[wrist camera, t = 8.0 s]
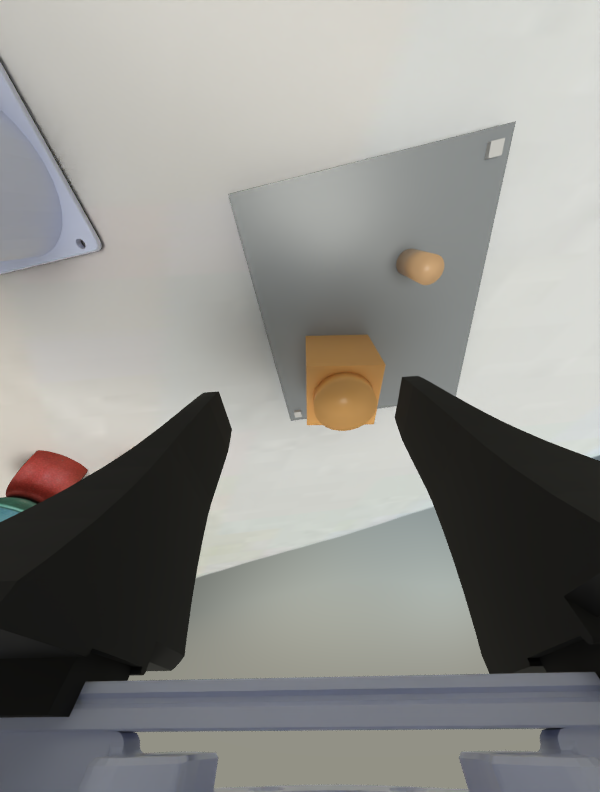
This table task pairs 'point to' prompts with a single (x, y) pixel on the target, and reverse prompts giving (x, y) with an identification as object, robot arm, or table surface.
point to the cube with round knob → (342, 381)
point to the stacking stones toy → (39, 482)
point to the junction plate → (376, 257)
